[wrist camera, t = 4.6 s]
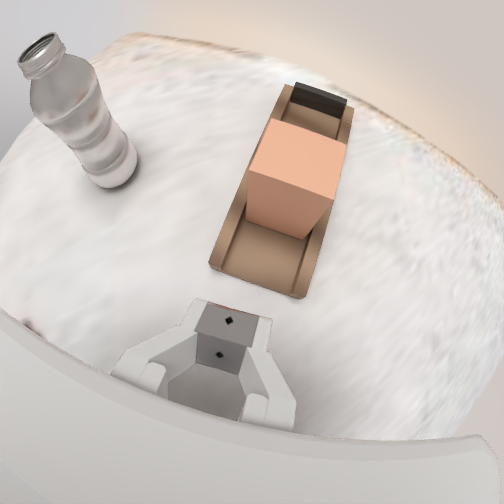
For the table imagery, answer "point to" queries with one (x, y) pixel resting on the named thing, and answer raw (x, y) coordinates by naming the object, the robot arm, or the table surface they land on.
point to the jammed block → (293, 178)
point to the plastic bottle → (77, 110)
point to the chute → (268, 240)
